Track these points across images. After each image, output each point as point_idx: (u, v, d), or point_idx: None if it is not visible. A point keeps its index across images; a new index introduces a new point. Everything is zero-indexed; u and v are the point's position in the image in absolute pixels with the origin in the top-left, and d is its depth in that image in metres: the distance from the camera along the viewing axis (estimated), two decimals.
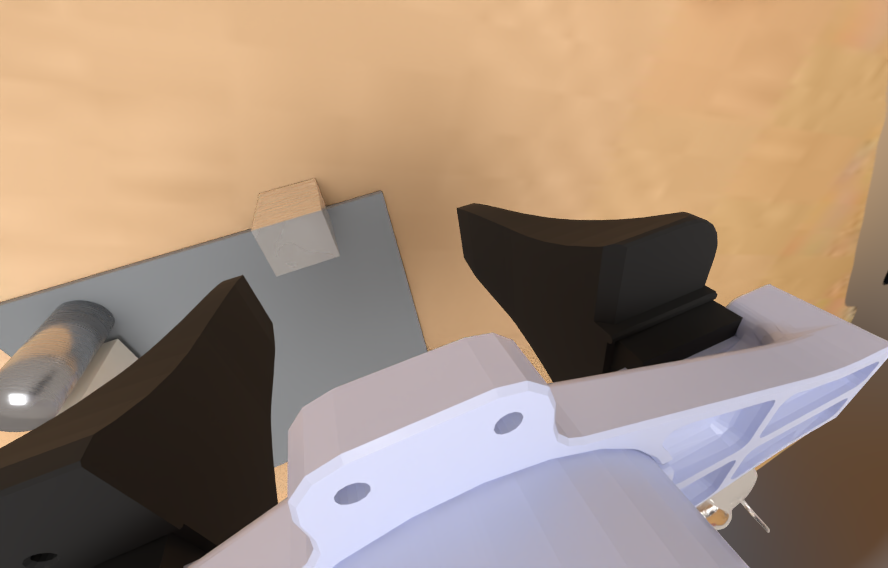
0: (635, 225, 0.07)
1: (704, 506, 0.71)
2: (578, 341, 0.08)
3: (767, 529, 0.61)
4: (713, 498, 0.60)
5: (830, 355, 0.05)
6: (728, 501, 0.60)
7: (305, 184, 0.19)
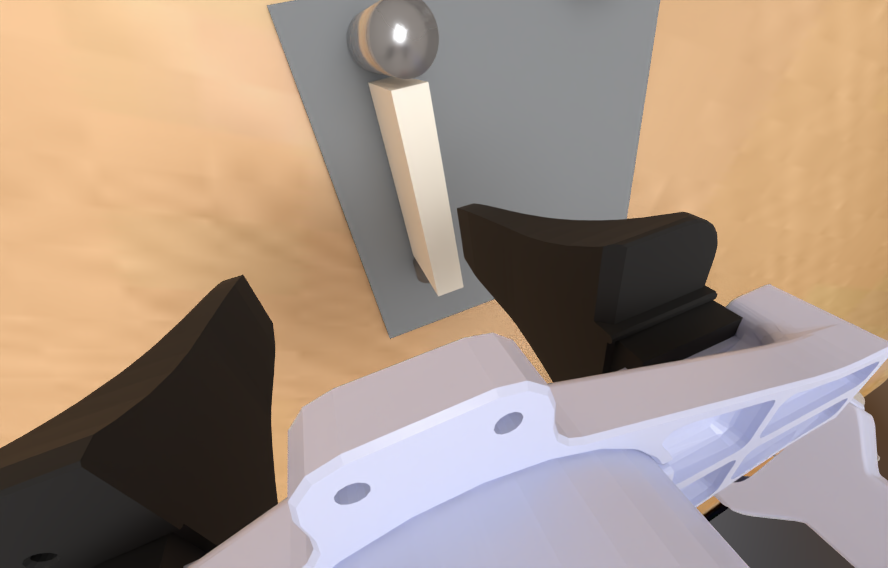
0: (635, 225, 0.07)
1: None
2: (578, 341, 0.08)
3: (877, 457, 0.58)
4: None
5: (830, 355, 0.05)
6: None
7: None
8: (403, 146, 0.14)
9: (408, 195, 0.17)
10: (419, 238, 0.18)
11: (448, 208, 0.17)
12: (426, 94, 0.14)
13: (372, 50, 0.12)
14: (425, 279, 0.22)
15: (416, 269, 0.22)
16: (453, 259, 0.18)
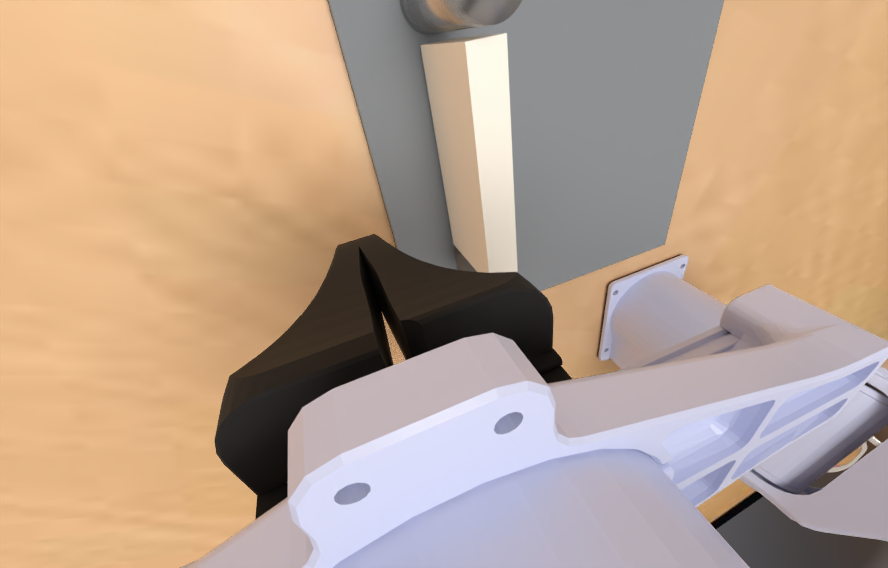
0: (467, 286, 0.06)
1: None
2: None
3: None
4: None
5: (830, 355, 0.05)
6: None
7: None
8: (471, 111, 0.13)
9: (464, 172, 0.15)
10: (472, 222, 0.16)
11: (512, 186, 0.15)
12: (503, 48, 0.12)
13: None
14: (468, 270, 0.20)
15: (458, 259, 0.20)
16: (510, 245, 0.16)
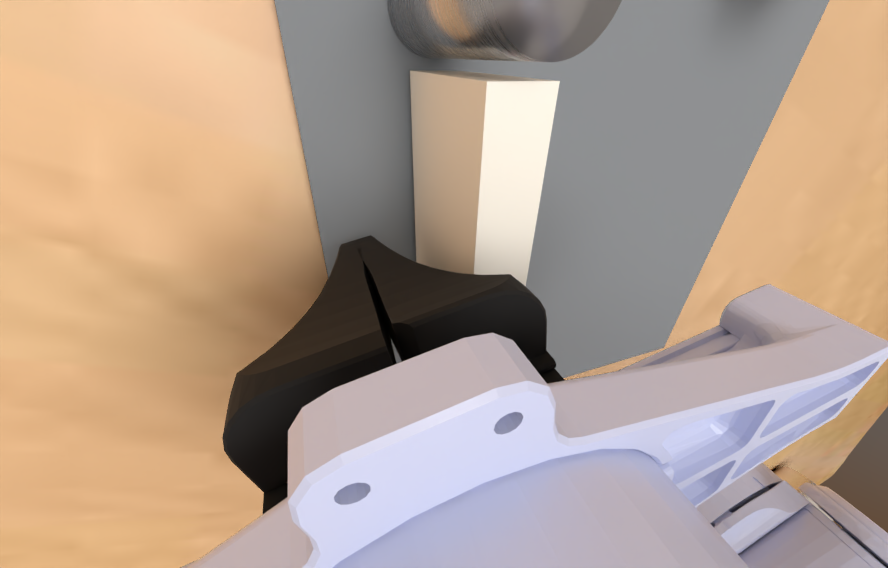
0: (461, 288, 0.06)
1: None
2: None
3: None
4: None
5: (830, 355, 0.05)
6: None
7: None
8: (477, 195, 0.07)
9: (449, 270, 0.10)
10: None
11: None
12: (548, 105, 0.07)
13: None
14: None
15: None
16: None
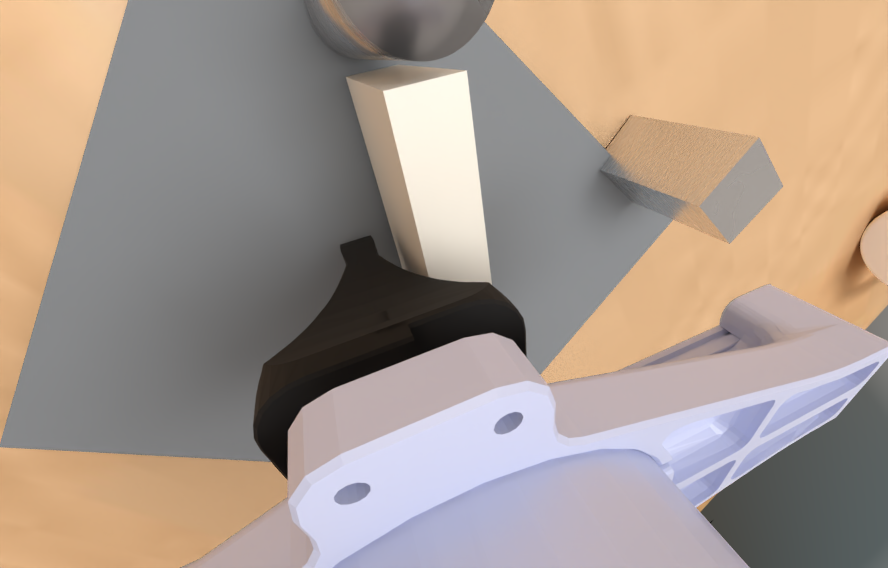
0: (439, 296, 0.06)
1: None
2: None
3: None
4: None
5: (830, 355, 0.05)
6: None
7: None
8: (410, 205, 0.07)
9: None
10: None
11: None
12: (461, 98, 0.06)
13: None
14: None
15: None
16: None
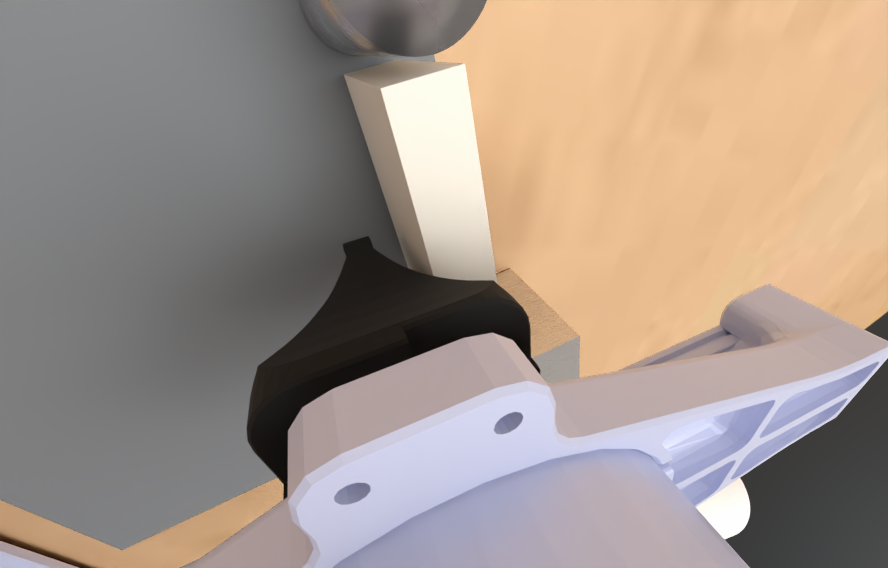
0: (444, 294, 0.06)
1: None
2: None
3: None
4: None
5: (830, 355, 0.05)
6: None
7: None
8: (412, 203, 0.07)
9: (422, 272, 0.10)
10: None
11: None
12: (460, 92, 0.06)
13: None
14: None
15: None
16: None
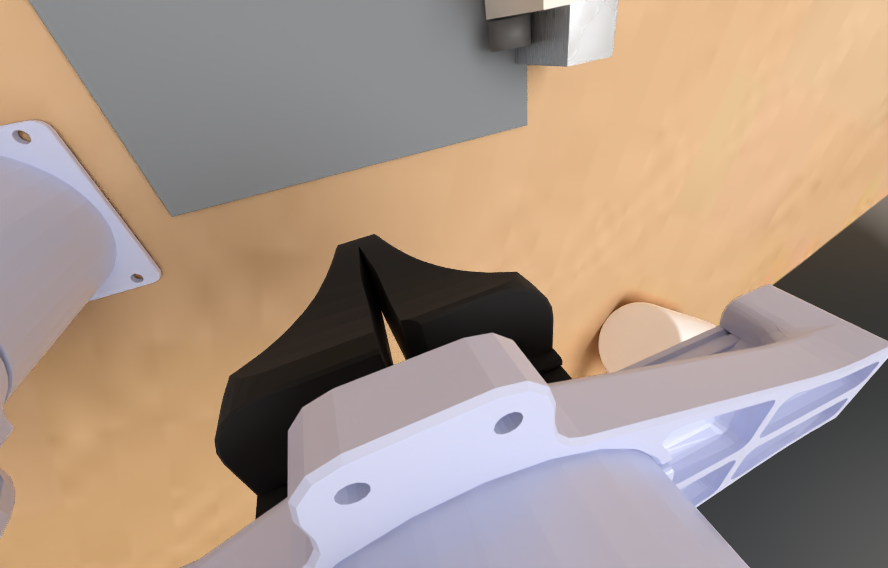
0: (467, 286, 0.06)
1: None
2: None
3: None
4: None
5: (830, 355, 0.05)
6: None
7: None
8: None
9: None
10: None
11: None
12: None
13: None
14: (505, 42, 0.17)
15: (493, 28, 0.17)
16: None
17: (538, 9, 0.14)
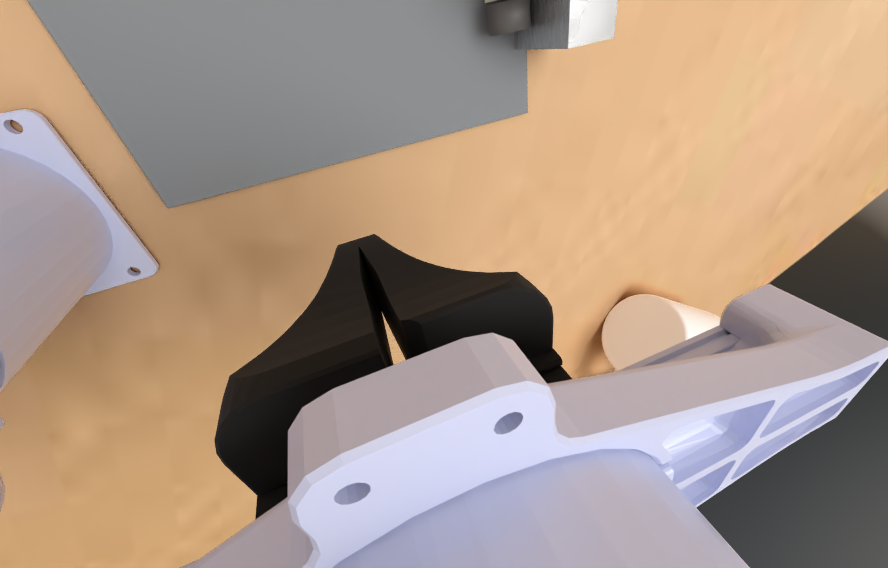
0: (468, 285, 0.06)
1: None
2: None
3: None
4: None
5: (830, 355, 0.05)
6: None
7: None
8: None
9: None
10: None
11: None
12: None
13: None
14: (505, 25, 0.16)
15: (492, 12, 0.16)
16: None
17: None
